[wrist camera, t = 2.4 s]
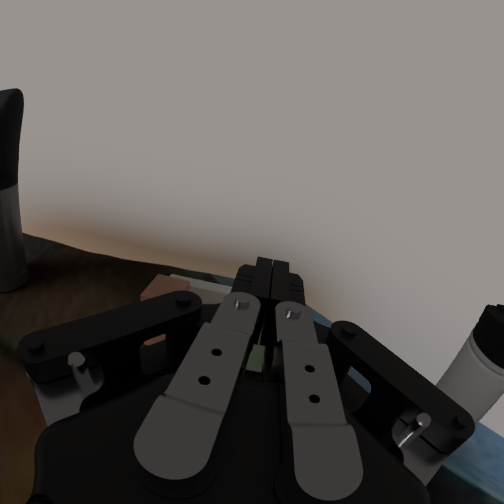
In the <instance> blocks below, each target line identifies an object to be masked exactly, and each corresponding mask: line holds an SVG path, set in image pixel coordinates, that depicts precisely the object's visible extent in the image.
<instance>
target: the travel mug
mask: <svg viewBox="0 0 504 504" xmlns="http://www.w3.org/2000/svg"><path fill="white" fill-rule="evenodd" d="M436 387H437V388H439V389H440V390H441V391H442V392H444V393H445V394H446V395H447V396H449V397H450V398H451V399H453V400H454V401H455V402H456V403H458V404H459V405H460V406H461V407H463V408H464V409H465V410H466V411H468V412H469V413H470V415H471V416H472V418H473V420H474V423H475V424H476V423H477V422H478V421H479V420H480V419H481V418H482V417H483V416H484V415H485V414H486V412H488V410H489V409H490V408H491V407H492V406H493V405H494V404H495V403H496V401H497V400H498V399H499V398H500V396H502V394H503V393H504V305H500V304H497V306H494V305H487V306H486V307H485V309H484V311H483V313H482V315H481V317H480V319H479V322H478V323H477V324H476V326H475V328H473V330H472V332H471V333H470V336H469V337H468V338H467V340H466V342H465V344H464V345H463V347H462V348H461V350H460V351H459V353H458V354H457V356H456V358H455V359H454V360H453V362H452V363H451V365H450V366H449V368H448V369H447V371H446V372H445V373H444V375H443V376H442V378H441V379H440V380H439V382H438V383H437V384H436Z"/></svg>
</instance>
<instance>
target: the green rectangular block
mask: <svg viewBox="0 0 504 504" xmlns="http://www.w3.org/2000/svg"><path fill="white" fill-rule="evenodd" d="M260 337H261V333H260ZM260 337H259V341H258V345H255V344H254V345H253V349H252V352H251V353H250V355H249V359H248V363H247V366H246V370H251V371H257V372H261V371H262V358H263V354H264V350H265V346H261V345H259V344H260Z"/></svg>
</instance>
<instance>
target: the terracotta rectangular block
mask: <svg viewBox="0 0 504 504" xmlns="http://www.w3.org/2000/svg"><path fill="white" fill-rule="evenodd" d="M178 290H185V291H189V290H190V281H187V280H182V279H178V278H174V277H169V276H165V275H161V274H158V275H157V276H156V277H155V279H154V280H153V281H152V282H151V283H150V284H149V286H148V287H147V288H146V289H145V290H144V292H143V293H142V294H141V295H140V300H141V301H143V300H146V299H150V298H153V297H156V296H160V295H163V294H166V293H170V292H173V291H178ZM164 339H165V334H163V335H160V336H157V337H155V338H152V339H149V340H147V341H145V342H144V344H146V345H151V344H154V343H157V342H159V341H162V340H164Z"/></svg>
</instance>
